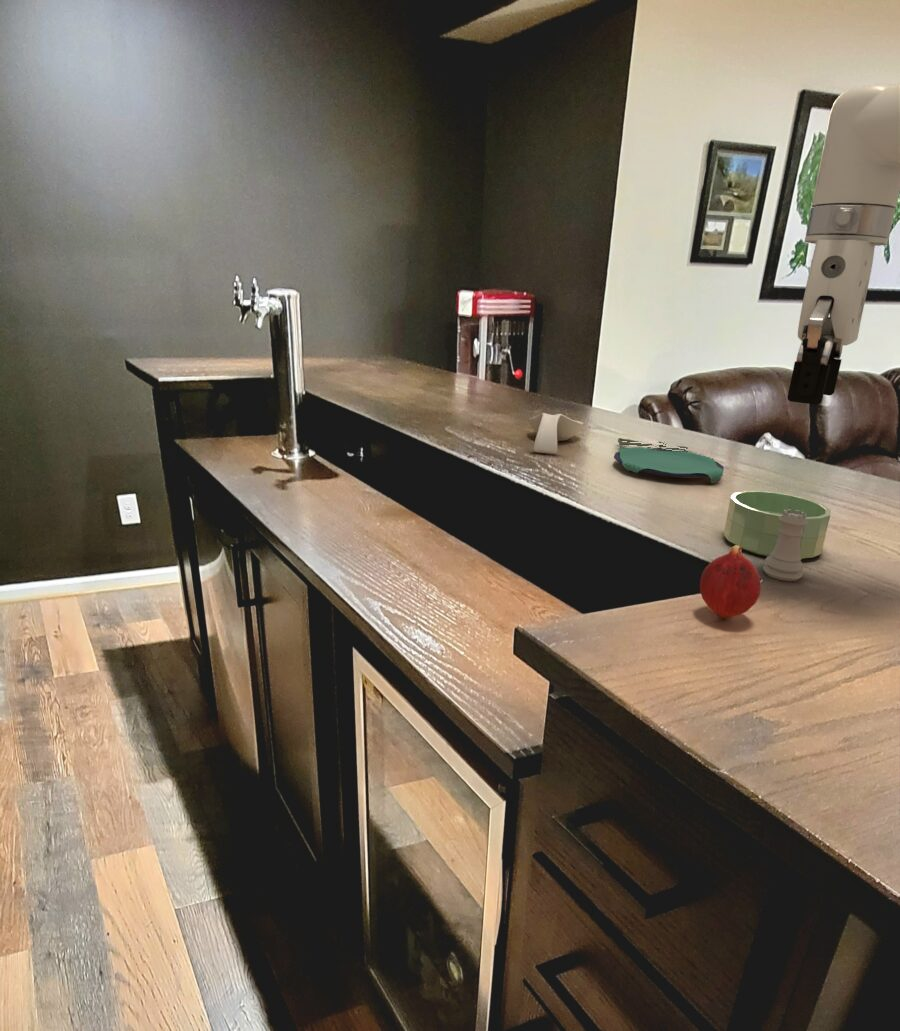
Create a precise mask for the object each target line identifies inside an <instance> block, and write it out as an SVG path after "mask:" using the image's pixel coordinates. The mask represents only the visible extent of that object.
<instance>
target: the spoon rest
mask: <svg viewBox="0 0 900 1031" xmlns="http://www.w3.org/2000/svg"><path fill="white" fill-rule="evenodd" d="M528 422H529V425H530V427H531V428H532V429H533V431H535V433H536V436H535V440H534V443H533V452H534V453H539V454H549V455H550V454H551V455H556V454H558V442H560V441H562V442H563V441H567V440H569V439H570V438H573V437H575V436H576V435H577V434H579V432H580V431H581V430H582V428H583V426H584V422H582V421H579V420H573V419H572V418H570V417H568V416H567V415H565V414H562V413H557V414H549V413H546V412H541V413H539V414H537V415H533V417H529V419H528Z"/></svg>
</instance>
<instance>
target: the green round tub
mask: <svg viewBox="0 0 900 1031" xmlns="http://www.w3.org/2000/svg"><path fill="white" fill-rule="evenodd" d="M787 509H791V510H792V512H791V513H795V510H798V511H800V512H799V515H801V513H802V512H804V513H806V514H807V516H806V519H807V521H808V524H807V525H806V526H805V527H803V531H802V532H803V534H804V535H803V536H802V537H801V541H800V557H801V560H803V559H808V558H809V559H810V558H815V557H817V556H820V555H822V553H823V549H824V543H825V539H826V536H827V532H828V527H829V523H830V518H831V509H830V508H828V507H827V506H825V505H824V504H822V503H819V502H817V501H814V500H813V499H809V498H805V497H801V496H798V495H794V494H788V493H782V492H776V491H766V490H740V491H737V492H733V493H732V494H731V496H730V498H729V503H728V510H727V513H726V520H725V524H724V529H723V536H724V537H725V538H726V540H727V541H728V542H730V543H731V544H734V546H735V545H737V546H739V547H740V548H742V550H744V551H747V552H748V553H752V554H755V555H759V556H761V557H766V558H767V557H768V556H769V555H771V554H770V553H771V552H772V551H773V550H774V548H775V546H776V543H777V540H778V537H779V531H778V530H779V529H780V528H781V522H780V520H779V517H780V516H781V515H782V514H783V511H784V510H787Z"/></svg>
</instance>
